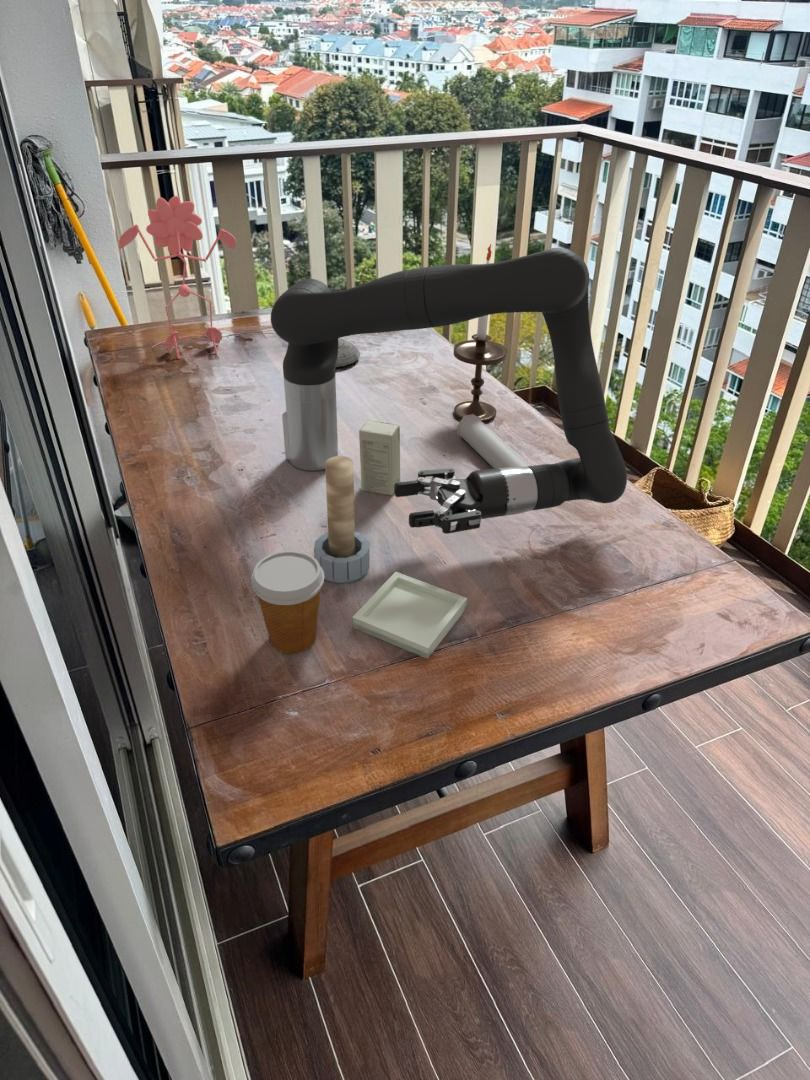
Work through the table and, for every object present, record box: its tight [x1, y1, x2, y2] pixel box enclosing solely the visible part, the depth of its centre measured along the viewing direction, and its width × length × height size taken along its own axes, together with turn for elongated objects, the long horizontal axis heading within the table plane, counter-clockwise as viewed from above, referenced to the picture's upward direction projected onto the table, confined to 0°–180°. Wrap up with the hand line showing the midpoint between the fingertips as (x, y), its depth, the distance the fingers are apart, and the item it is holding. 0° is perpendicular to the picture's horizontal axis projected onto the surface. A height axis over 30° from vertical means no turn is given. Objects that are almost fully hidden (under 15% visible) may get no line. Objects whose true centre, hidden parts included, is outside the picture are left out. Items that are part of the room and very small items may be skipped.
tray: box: [352, 571, 468, 659], centre depth 108 cm, size 12×12×2 cm
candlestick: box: [452, 243, 508, 424], centre depth 151 cm, size 11×11×35 cm
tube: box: [456, 414, 531, 469], centre depth 143 cm, size 5×5×25 cm
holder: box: [313, 531, 371, 584], centre depth 117 cm, size 8×8×4 cm
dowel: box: [324, 455, 356, 558], centre depth 112 cm, size 4×4×18 cm
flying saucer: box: [335, 337, 361, 368], centre depth 183 cm, size 15×15×6 cm
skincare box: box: [358, 419, 401, 496], centre depth 133 cm, size 6×4×12 cm
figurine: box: [118, 195, 237, 360], centre depth 178 cm, size 15×26×35 cm, turn 113°
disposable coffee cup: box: [250, 550, 325, 655], centre depth 101 cm, size 10×10×12 cm
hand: (401, 505), depth 114 cm, fingers open, 8 cm apart
